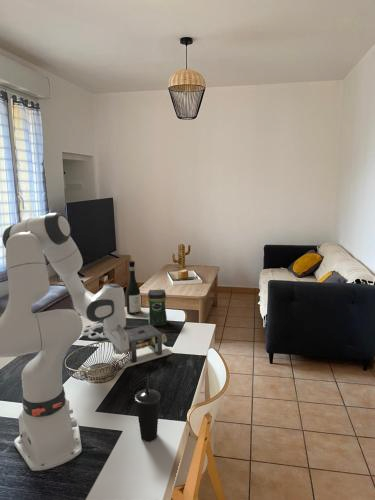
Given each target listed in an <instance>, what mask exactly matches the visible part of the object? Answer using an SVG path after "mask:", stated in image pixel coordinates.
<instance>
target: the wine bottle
mask: <svg viewBox="0 0 375 500" xmlns="http://www.w3.org/2000/svg"><path fill="white" fill-rule="evenodd" d="M128 264H129V280H128V284H127V286H126V292H125V305H126V313H128V314H129V315H137V314H139V313H141V312H142V305H141V304H142V302H141V300H142V299H141V298H142V297H141V291H140V290H141V289H140V287H139V285H138V282H137V281H136V269H135V268H136V267H135V261H134V260H129V261H128Z"/></svg>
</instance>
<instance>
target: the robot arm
mask: <svg viewBox="0 0 375 500" xmlns="http://www.w3.org/2000/svg"><path fill="white" fill-rule="evenodd" d="M71 233H72V231H71V226H70V222H69V221H68V219H67V218H66V216H64V215H62V214H61V213H59V212H49V213H47V214H44V215H38V216H36V217H30V218H27V219H24V220H22V221H20V222H18V223H16V224H14V223H13V224H11V225H10V226H8V227H7V228H5V230H4V231H3V233H2V234H3V235H2V236H1V237H2V245H3V247H4V249H5V266H6V267H5V268H6V273H7V274H6V275H7V279H8V281H7V283H8V300H7V304H6V306H5V307H6V308H5V309H4V312H3V313H2V314H1V316H0V358H16V357H20V356H25V355H29V354H33V353H37V352H38V354H37V355H36V356H35V357H33V359H31V360H30V361H29V362H27V363H26V365H25V366H24V368H23V370H22V372H21V375H20V377H21V386H22V396H21V398H22V399H21V404H22V408H23V409H22V411H21V412H20V414H19V415H18V427H19V435H18V436H17V437H16V438H15V439H14V441H13V445H14V447H15V448H16V449H17V451H18V452H19V454H20V455H21V457H22V458H23V460H24V462H25V463H26V465H27V466H28V467H29V469H30V470H31V471H33V472H34V471H35V472H37V471H40V472H41V471H44V470H45V471H46V470H49V469H53V468H55V467H58V466H60V465H63V464H65V463H67V462H70V461H71V460H73V459H75V458H76V457H77V456H79V455H80V454H81V452H82V451H83V448H82V441H81V434H80V427H79V426H80V425H79V420H78V419H77V418H74V417H73V416H71V414H74V409H73V408H70V400H69V399H67V398H66V391H65V388H64V385H63V375H62V374H63V363H64V360H65V357H66V355H67V353H68V351H69V350H70V349H71V347H72V346H73V344H74V343H75V342H76V341H77V340H79V339H80V337H81V335H82V333H83V329H84V328H83V327H84V326H83V320H82V318H81V316H82V317H83V318H85V319H87V320H89V321H91V322H93V323H98V322H101V323H102V324H103V327H102V328H103V329H102V330H103V332H104V333H103V335H105V336H106V337H107V338H106V339H107V340H109V341H110V342H111V346H112V348H113V349H112V351H113V352H114V354H115V355H116V354H119V353H120V352H123V351H127V350H128V349H129V340H128V334H127V332H126V331H125V327H126V326H127V318H126V317H127V315H126V313H127V312H126V310H125V307H126V295H125V292H124V291H125V290H124V288H123V286H121V285H119V284H117V283H111V282H110V283H106V284H103V286H102V288H101V289H100V290H99V291H97V293H93V292H91V291H90V290H88V289H86V287H85V286H84V284H83V282H82V280H81V278H80V276H79V274H78V272H80V270H81V269H82V267H83V263H84V261H83V257H82V254H81V252H80V250H79V247H78V246H77V244H76V242H75V241H74V240H73V238H72V237H71ZM45 257H46V258H45ZM46 259H47V261H48V262H49V264H50V266H51V267H52V269H53V270H54V271H55V272H56V273H57V275H58V276H59V278H60V279H61V281H62V283H63V285H64V286H65V288H66V290H67V292H68V295H69V298H70V306H71V309H70V308H60V309H59V308H56V309H52V310H51V309H50V310H47V311H41V312H36V313H35V312H32V307H33V306H34V305H35V304H36V303H38V302H39V301H41V300H42V299H43V298H45V297H46V296H47V295H48V293H49V291H50V288H51V284H50V279H49V273H48V269H47V263H46Z"/></svg>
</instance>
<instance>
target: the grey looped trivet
mask: <svg viewBox="0 0 375 500" xmlns="http://www.w3.org/2000/svg"><path fill="white" fill-rule="evenodd" d="M97 328H100V329H101V328H103V322H101V321H99V322H93V324H91V325H87V326H85V327H84V328H83V331H82V333H81V335H82V336H88V338H89V339H92V340H93V339H99V338H101V339H108V338H107V337H106V336H105V334H104V331H103V332H101V333H99V332H98V331H94V330H96V329H97Z"/></svg>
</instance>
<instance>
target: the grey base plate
mask: <svg viewBox="0 0 375 500" xmlns="http://www.w3.org/2000/svg"><path fill="white" fill-rule="evenodd" d="M136 354H137V362H135V363H132V362H131V361H130V360H129V362H128V363H127V364H126V365H125V367H124V368H123V369H125V368H128V367H132V366H135V365H139V364H142V363H146V362H149V361H152V360H157V359H159V358H162V357H165V356H169V355H173V351H172V350H171V349H170V348H169V347H167V346H166V345H165V344H164V343H162V355H159V356H158V355H157V354H156V353H154V352H153V351H152V350H151V349H150V348H149V347H145V348H143V349H138V350H136ZM121 358H122V355H121V354H120V355H119V354H116V353H115V354H113V355H111V359H112V360H113V362H115V361H117V360H119V359H121Z"/></svg>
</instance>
